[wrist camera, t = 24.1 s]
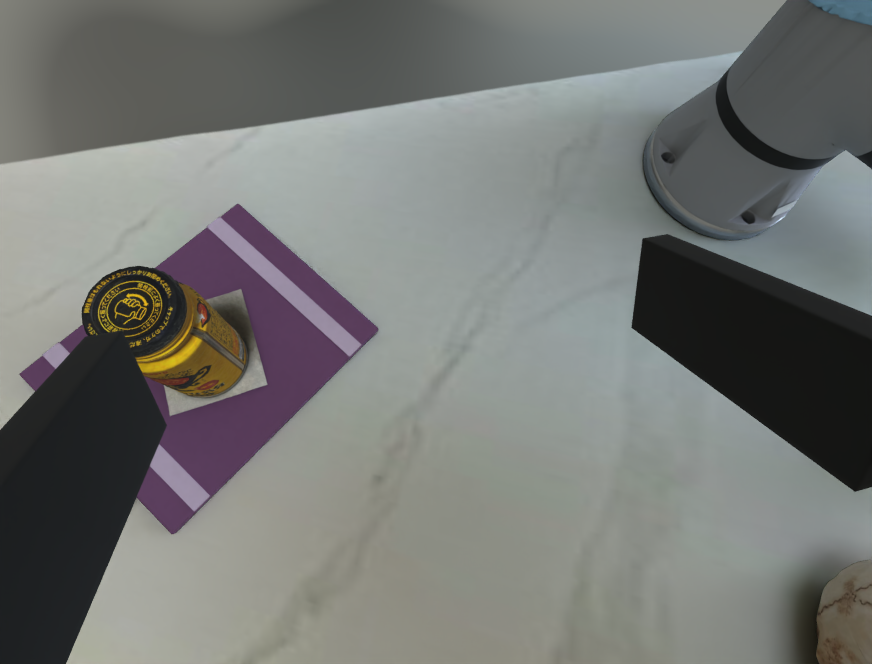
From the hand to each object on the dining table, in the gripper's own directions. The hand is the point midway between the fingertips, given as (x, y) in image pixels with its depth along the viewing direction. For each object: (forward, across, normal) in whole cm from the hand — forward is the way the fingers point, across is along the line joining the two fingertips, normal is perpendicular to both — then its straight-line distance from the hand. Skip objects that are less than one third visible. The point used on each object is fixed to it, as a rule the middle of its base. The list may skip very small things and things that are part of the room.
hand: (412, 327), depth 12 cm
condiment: (+25, -13, -12) cm, 31 cm away
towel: (+25, -13, -12) cm, 31 cm away
